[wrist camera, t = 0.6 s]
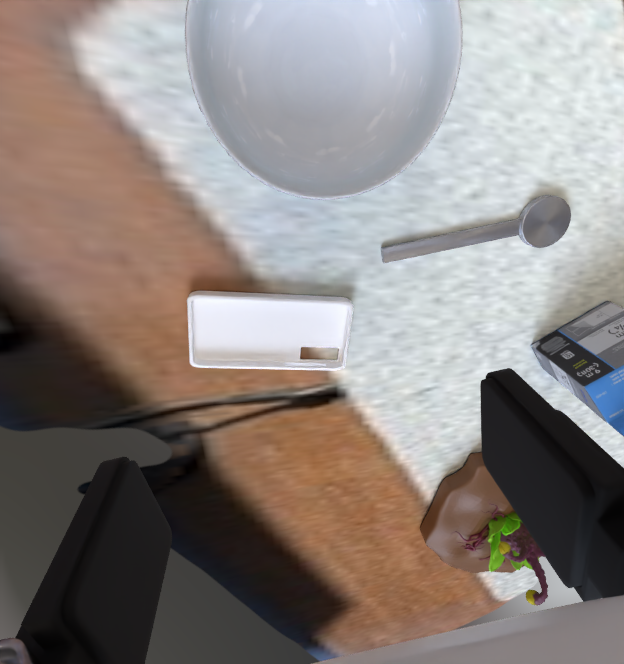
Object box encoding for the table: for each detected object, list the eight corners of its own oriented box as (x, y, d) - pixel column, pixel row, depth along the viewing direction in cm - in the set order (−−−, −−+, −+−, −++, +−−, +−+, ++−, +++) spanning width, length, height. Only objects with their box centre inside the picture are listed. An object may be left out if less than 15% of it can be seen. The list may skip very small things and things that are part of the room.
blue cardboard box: (608, 297, 43) (730, 355, 31) (617, 325, 44) (736, 389, 33) (529, 344, 44) (619, 414, 33) (541, 369, 46) (630, 445, 34)
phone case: (351, 296, 39) (189, 289, 37) (354, 302, 38) (186, 294, 36) (342, 364, 43) (192, 360, 41) (345, 371, 41) (189, 367, 39)
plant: (396, 542, 55) (426, 633, 45) (476, 431, 48) (533, 509, 38) (512, 569, 61) (562, 655, 50) (600, 472, 54) (678, 550, 44)
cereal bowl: (193, 170, 33) (177, 178, 27) (207, -106, 26) (190, -181, 20) (394, 203, 36) (422, 218, 30) (452, -37, 29) (505, -85, 23)
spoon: (378, 229, 37) (381, 232, 36) (567, 190, 37) (573, 191, 37) (384, 278, 39) (386, 281, 38) (563, 240, 39) (568, 242, 39)
